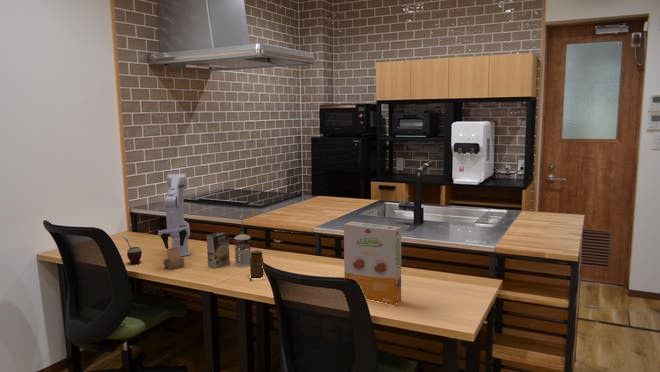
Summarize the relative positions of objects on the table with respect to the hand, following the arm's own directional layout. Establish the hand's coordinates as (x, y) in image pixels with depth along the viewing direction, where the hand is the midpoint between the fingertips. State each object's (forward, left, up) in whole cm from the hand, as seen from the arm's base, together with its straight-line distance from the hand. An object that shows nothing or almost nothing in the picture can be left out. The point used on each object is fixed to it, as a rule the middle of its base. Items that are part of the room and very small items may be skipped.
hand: (174, 247), depth 255 cm
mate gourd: (-21, -13, -10) cm, 27 cm away
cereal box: (+97, +42, -10) cm, 107 cm away
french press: (+18, +28, -10) cm, 35 cm away
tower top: (0, -1, -8) cm, 8 cm away
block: (0, -1, -6) cm, 6 cm away
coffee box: (+12, +18, -10) cm, 24 cm away
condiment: (+42, +22, -10) cm, 48 cm away
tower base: (0, -1, -11) cm, 11 cm away
